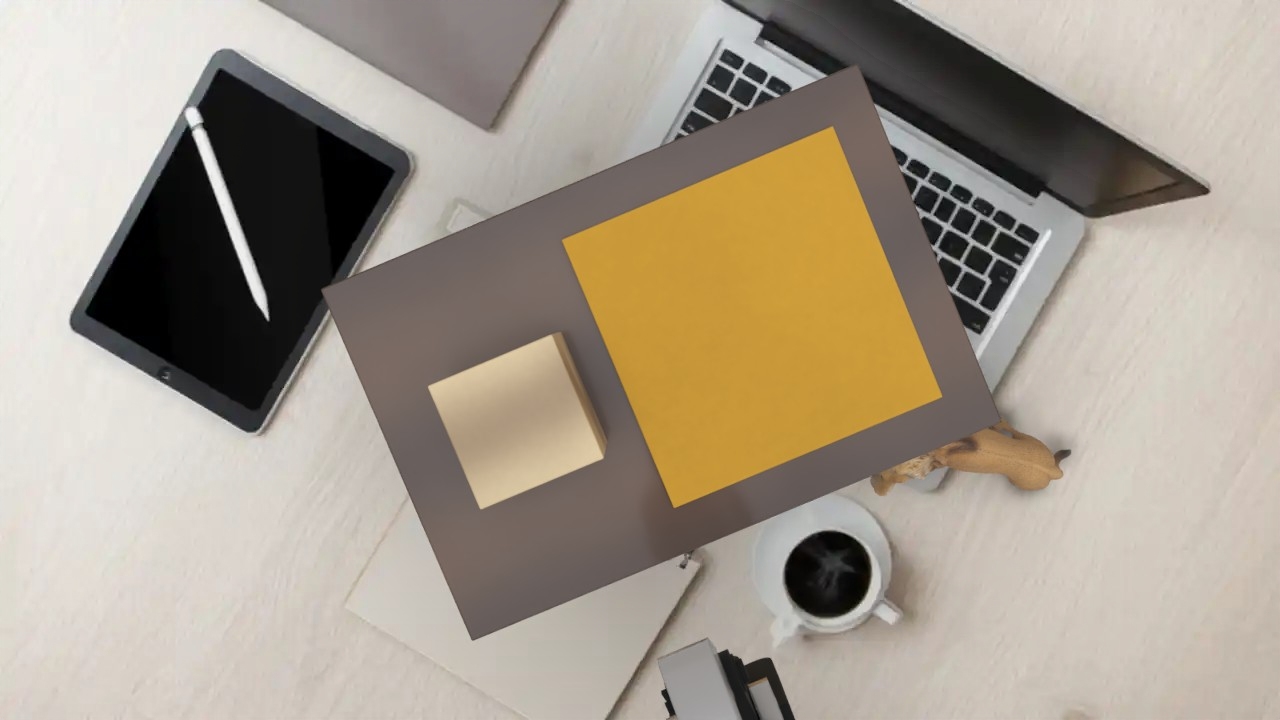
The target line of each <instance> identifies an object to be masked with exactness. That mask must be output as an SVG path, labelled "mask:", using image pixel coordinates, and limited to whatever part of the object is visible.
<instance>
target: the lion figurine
mask: <svg viewBox="0 0 1280 720" xmlns="http://www.w3.org/2000/svg"><path fill="white" fill-rule="evenodd" d="M1001 420H1002V422H1001V423H999V424H996V425H994V426H991V427H989V428H987V429H984V430H982V431H979V432H977V433H975V434H972V435H970V436H967V437H965V438H962V439H960V440H958V441H955V442H953V443H950V444H948V445H946V446H943V447H941V448H938V449H936V450H933V451H931V452H929V453H926V454H924V455H921V456H919V457H916V458H914V459H912V460H909V461H907V462H904V463H902V464H900V465H897V466H895V467H892V468H890V469H887V470H885V471H883V472H880V473H878V474H875V475H873V476H871V477H870V481H869V483H870V485H871V487H872V488H873V491H874V493H876V495H877V496H879V497H886V496H887V495H888V494H889V493H890V492H891V491H893V489H894V487H895V486H896V484H904V483H906V482H907V481H909V480H910V479H920V480H926V479H927V477H926V476H929V474H930V473H931V472H934V471H935V470H937V469H938V470H939V469H943V468H946V467H947V468H950V469H953V470H957V471H961V472H964V473H975V474H990V475H991V474H993V475H994V474H996V475H1002V476H1003V475H1004V476H1006V478H1007V480H1008V481H1009V483H1010V484H1011V486H1014V487H1016V488H1018V489H1020V490H1022V491H1027V492H1032V491H1039V490H1044V489H1046V488H1047V487H1048V486H1049V484H1050V482H1051V481H1053V480H1054V481H1057V480H1061V479H1062V478H1063V477H1064V471H1063V470H1062V469H1061V467H1060V464H1061V462H1062V461H1063V460H1064V459H1067V458H1069V457H1070V456H1071V455H1072V449H1069V448H1068V449H1060V450H1058V451H1057V452H1055V454H1053V451H1051V450H1050V448H1048V446H1047V445H1046V444H1045V443H1044V442H1043V441H1041V440H1039V439H1038V438H1037V437H1034V436H1033V435H1030V434H1027V433H1024V432H1021V431H1018V430H1016V429H1014V428H1013V427H1012V426H1011V425H1010V423H1009V422H1008V421H1007V420H1005V419H1004V418H1003V417H1001Z"/></svg>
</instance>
